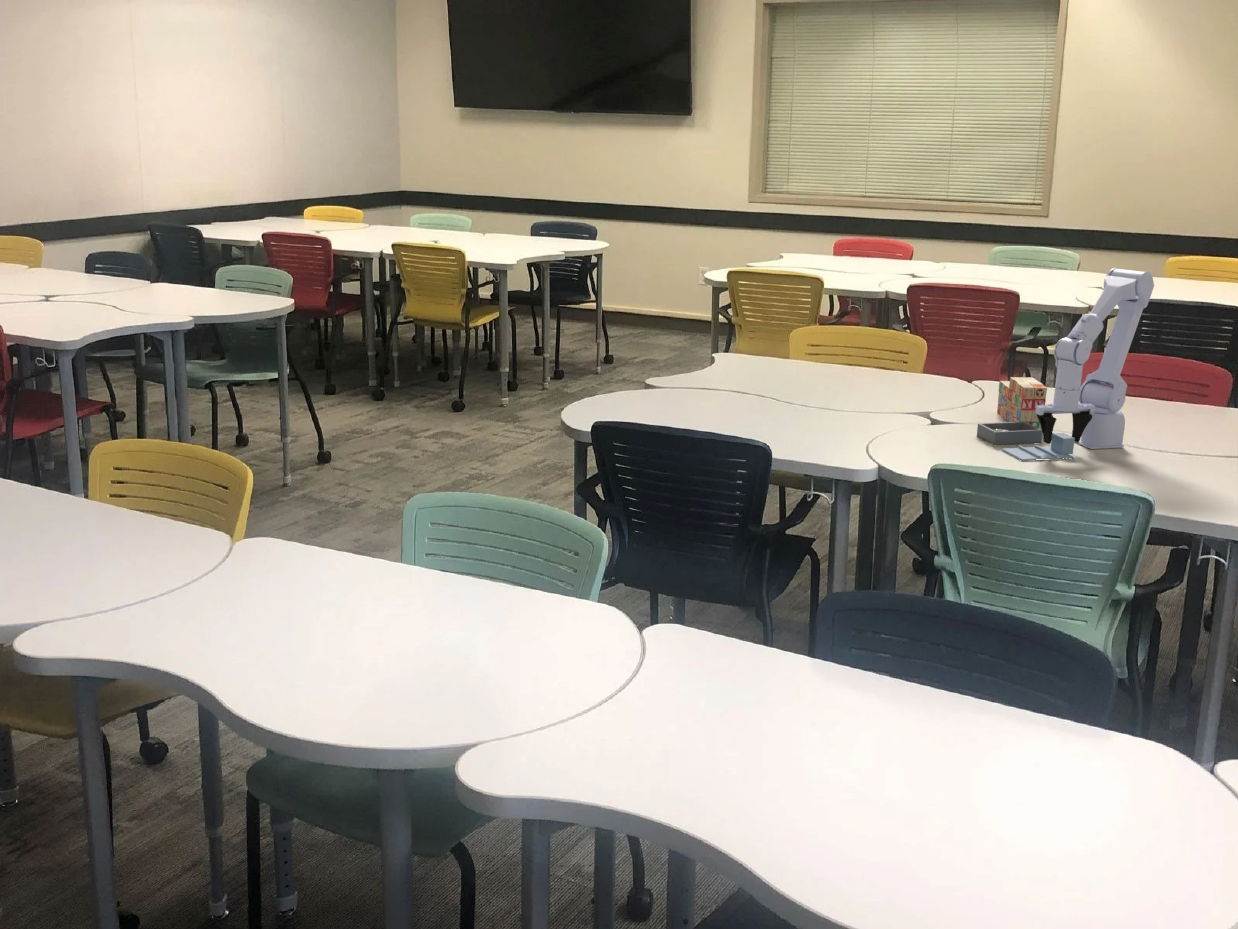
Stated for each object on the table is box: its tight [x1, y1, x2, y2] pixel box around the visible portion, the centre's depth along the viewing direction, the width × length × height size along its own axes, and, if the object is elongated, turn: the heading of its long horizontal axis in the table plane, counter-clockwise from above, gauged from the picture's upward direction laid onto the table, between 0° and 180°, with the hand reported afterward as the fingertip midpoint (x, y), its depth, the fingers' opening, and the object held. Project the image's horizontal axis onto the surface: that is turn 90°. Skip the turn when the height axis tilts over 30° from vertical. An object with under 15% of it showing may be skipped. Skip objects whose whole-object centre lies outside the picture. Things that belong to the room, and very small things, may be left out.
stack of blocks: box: [996, 376, 1048, 430], centre depth 322 cm, size 21×6×12 cm, turn 178°
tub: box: [976, 421, 1043, 447], centre depth 305 cm, size 13×9×4 cm
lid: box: [1001, 432, 1075, 462], centre depth 292 cm, size 15×10×5 cm, turn 102°
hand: (1061, 442), depth 292 cm, fingers open, 7 cm apart
